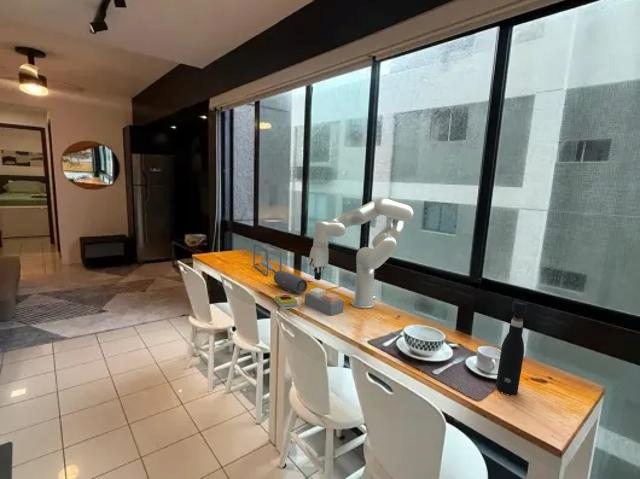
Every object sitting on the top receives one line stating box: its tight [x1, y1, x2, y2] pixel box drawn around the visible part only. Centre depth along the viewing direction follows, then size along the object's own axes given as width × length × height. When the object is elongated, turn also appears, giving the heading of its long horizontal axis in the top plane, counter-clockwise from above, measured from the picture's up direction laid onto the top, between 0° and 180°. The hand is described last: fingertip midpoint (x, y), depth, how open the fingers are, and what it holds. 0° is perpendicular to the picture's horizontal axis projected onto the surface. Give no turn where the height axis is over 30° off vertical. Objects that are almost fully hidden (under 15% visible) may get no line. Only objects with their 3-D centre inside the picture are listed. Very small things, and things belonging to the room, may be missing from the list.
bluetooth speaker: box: [273, 270, 308, 294], centre depth 205 cm, size 23×9×10 cm, turn 42°
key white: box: [309, 287, 327, 298], centre depth 181 cm, size 6×6×5 cm
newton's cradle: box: [252, 243, 283, 277], centre depth 246 cm, size 30×10×18 cm, turn 29°
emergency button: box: [273, 294, 299, 310], centre depth 182 cm, size 9×4×15 cm
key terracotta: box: [323, 292, 341, 303], centre depth 174 cm, size 6×6×5 cm
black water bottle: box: [495, 300, 528, 396], centre depth 111 cm, size 6×6×30 cm
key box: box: [304, 292, 345, 317], centre depth 178 cm, size 9×19×6 cm, turn 44°
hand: (317, 279), depth 180 cm, fingers closed
